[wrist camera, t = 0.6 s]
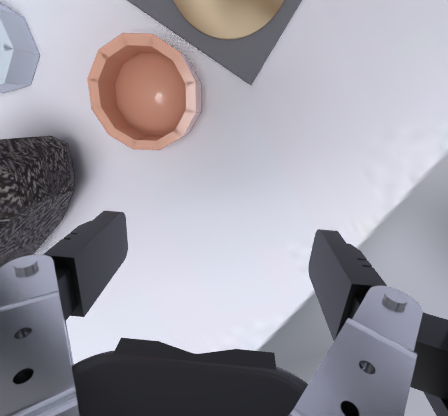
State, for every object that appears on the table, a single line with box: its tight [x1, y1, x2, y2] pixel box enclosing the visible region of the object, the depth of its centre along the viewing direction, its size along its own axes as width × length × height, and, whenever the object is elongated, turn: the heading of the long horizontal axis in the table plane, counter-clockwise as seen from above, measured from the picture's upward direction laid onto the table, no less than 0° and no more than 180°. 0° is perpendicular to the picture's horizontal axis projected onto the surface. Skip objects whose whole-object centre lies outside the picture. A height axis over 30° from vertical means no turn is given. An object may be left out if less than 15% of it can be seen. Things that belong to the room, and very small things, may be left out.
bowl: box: [88, 33, 201, 150], centre depth 30 cm, size 11×11×5 cm
